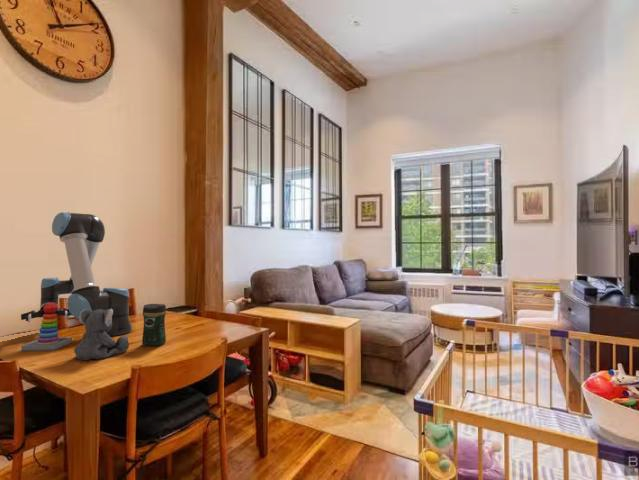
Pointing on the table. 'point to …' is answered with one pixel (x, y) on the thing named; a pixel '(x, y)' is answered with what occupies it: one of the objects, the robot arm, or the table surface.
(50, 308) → the stacking toy
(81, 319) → the koala plush
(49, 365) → the table surface
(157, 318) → the coffee jar
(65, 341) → the tray
